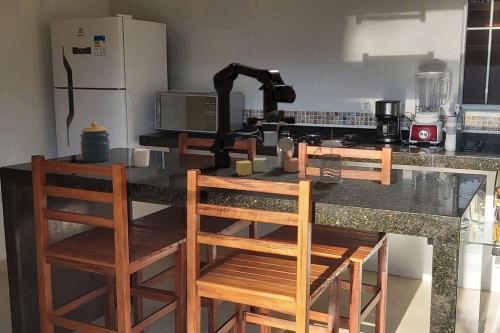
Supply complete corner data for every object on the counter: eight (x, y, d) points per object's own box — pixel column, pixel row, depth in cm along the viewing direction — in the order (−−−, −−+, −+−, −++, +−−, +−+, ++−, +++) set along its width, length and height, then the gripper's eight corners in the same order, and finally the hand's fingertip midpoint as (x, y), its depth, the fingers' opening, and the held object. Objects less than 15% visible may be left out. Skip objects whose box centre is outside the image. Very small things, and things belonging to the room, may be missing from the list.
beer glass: (287, 171, 235) (288, 155, 222) (273, 163, 237) (273, 146, 224) (296, 158, 238) (297, 141, 224) (282, 151, 239) (282, 134, 226)
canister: (79, 159, 258) (76, 121, 254) (107, 157, 263) (105, 119, 260) (83, 163, 246) (81, 124, 243) (113, 161, 251) (111, 122, 248)
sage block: (253, 172, 227) (253, 160, 226) (253, 169, 232) (253, 157, 231) (265, 172, 226) (265, 160, 226) (265, 169, 231) (265, 157, 230)
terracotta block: (290, 172, 225) (290, 160, 224) (284, 170, 229) (284, 158, 228) (301, 171, 227) (301, 159, 226) (295, 169, 231) (295, 157, 230)
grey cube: (264, 146, 216) (264, 133, 215) (263, 144, 220) (263, 131, 220) (277, 145, 216) (277, 133, 215) (275, 144, 221) (275, 131, 220)
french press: (343, 184, 203) (345, 115, 199) (311, 183, 205) (312, 115, 201) (344, 178, 213) (346, 113, 208) (313, 177, 215) (315, 112, 210)
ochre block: (239, 175, 219) (239, 163, 218) (236, 173, 224) (236, 161, 223) (251, 175, 221) (251, 162, 220) (248, 172, 225) (248, 160, 225)
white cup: (151, 164, 244) (151, 148, 243) (147, 167, 238) (147, 150, 236) (136, 164, 245) (136, 148, 244) (131, 166, 238) (131, 150, 237)
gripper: (248, 104, 206) (248, 145, 209) (298, 103, 208) (297, 144, 211) (245, 102, 217) (245, 141, 220) (292, 101, 219) (292, 140, 222)
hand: (270, 142), depth 218 cm, fingers closed on grey cube, 5 cm apart
